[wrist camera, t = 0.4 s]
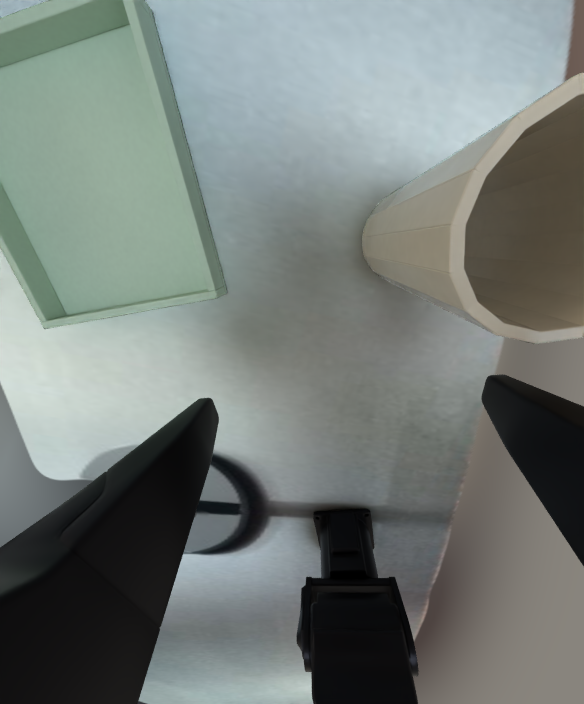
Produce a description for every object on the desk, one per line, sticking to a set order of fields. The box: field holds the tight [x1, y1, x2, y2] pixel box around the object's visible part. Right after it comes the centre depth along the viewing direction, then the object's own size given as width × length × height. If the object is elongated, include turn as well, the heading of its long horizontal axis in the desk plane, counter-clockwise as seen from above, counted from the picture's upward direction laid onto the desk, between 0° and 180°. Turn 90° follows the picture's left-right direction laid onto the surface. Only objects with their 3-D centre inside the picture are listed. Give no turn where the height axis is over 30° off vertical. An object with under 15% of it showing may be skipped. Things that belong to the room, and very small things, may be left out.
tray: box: [0, 0, 227, 329], centre depth 19 cm, size 17×15×2 cm
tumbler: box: [362, 72, 584, 344], centre depth 13 cm, size 6×6×14 cm
